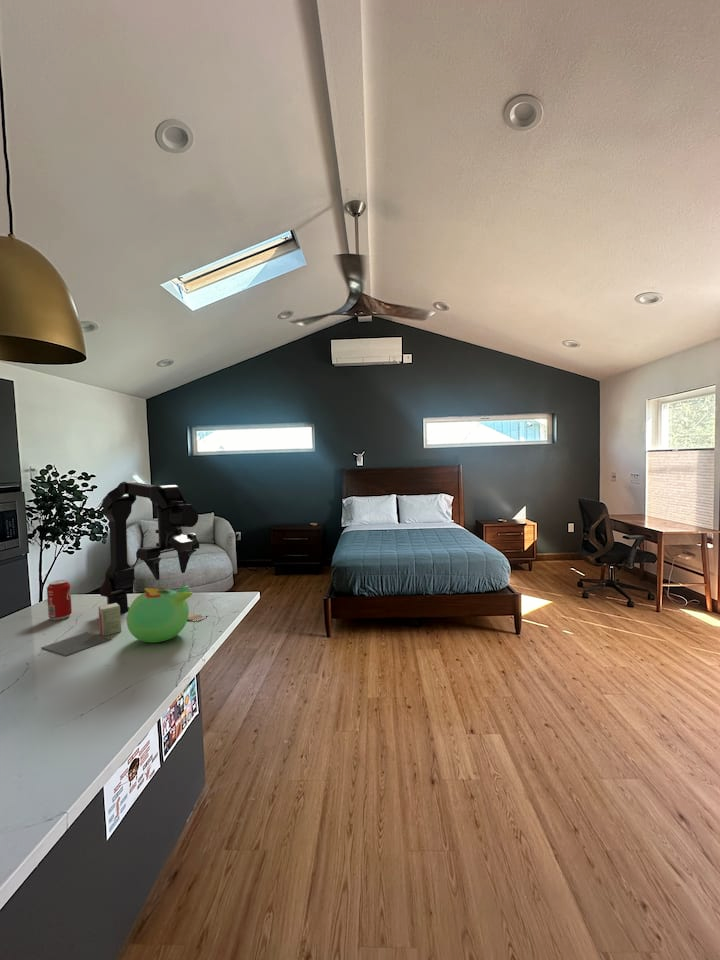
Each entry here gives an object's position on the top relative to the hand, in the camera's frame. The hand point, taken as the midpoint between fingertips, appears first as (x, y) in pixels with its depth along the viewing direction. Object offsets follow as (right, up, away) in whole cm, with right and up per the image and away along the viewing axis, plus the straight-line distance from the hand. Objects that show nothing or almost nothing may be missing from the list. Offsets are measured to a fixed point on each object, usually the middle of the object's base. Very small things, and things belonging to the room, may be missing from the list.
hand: (170, 576), depth 136 cm
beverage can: (-40, -16, +9) cm, 44 cm away
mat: (-20, -16, -14) cm, 29 cm away
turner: (+2, -14, +5) cm, 15 cm away
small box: (-15, -16, -6) cm, 23 cm away
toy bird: (+3, -15, -12) cm, 20 cm away
